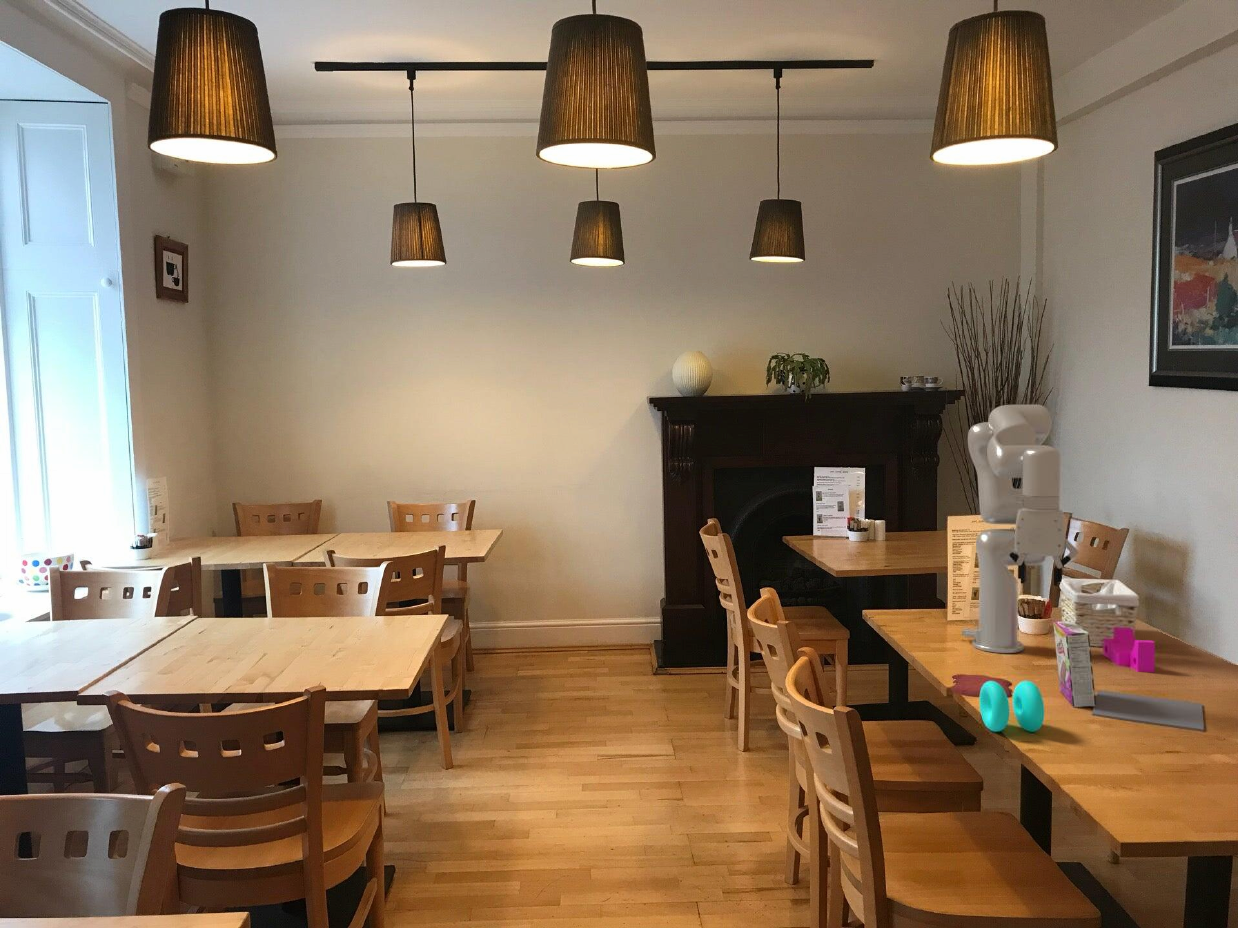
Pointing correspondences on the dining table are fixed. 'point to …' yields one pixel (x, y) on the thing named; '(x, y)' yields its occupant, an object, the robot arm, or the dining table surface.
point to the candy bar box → (1074, 664)
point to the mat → (1149, 710)
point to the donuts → (1024, 706)
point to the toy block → (1130, 650)
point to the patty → (976, 684)
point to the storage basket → (1098, 606)
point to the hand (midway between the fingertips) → (1039, 582)
